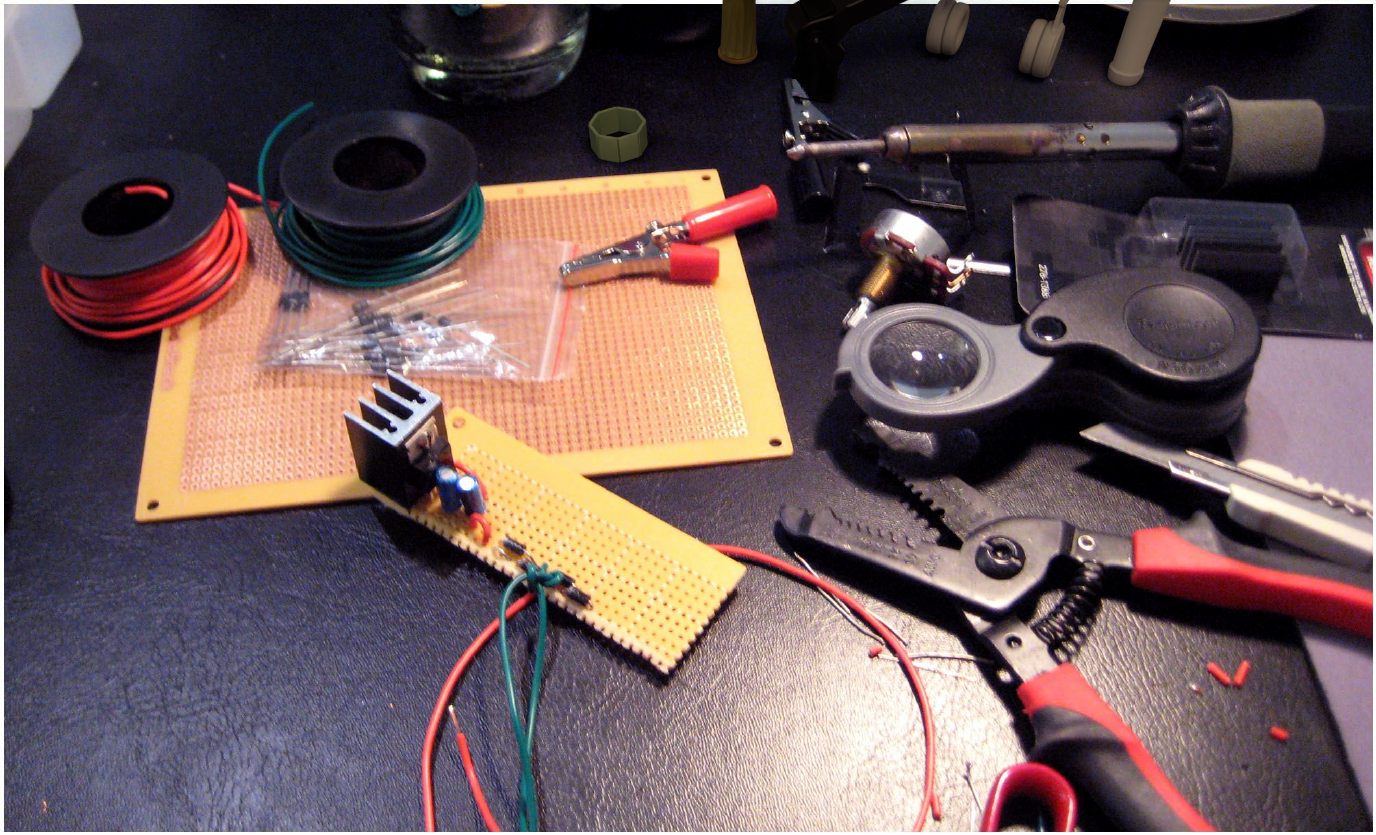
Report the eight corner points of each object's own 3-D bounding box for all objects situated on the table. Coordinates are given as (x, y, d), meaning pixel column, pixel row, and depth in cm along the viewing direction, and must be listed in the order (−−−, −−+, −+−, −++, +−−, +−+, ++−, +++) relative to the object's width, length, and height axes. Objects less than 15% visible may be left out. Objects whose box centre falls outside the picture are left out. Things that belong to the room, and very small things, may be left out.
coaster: (762, 46, 156) (762, 43, 155) (751, 66, 152) (751, 63, 152) (724, 41, 157) (724, 37, 157) (713, 61, 154) (713, 57, 153)
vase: (728, 63, 152) (728, -24, 141) (714, 45, 155) (714, -41, 144) (762, 55, 153) (765, -31, 142) (748, 38, 157) (750, -48, 146)
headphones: (920, 59, 151) (946, -68, 137) (935, 40, 156) (962, -84, 142) (1042, 88, 144) (1083, -42, 131) (1054, 67, 150) (1094, -60, 136)
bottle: (1136, 69, 148) (1199, -96, 129) (1143, 87, 145) (1208, -80, 126) (1103, 68, 149) (1160, -96, 129) (1109, 86, 146) (1168, -80, 126)
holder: (653, 135, 141) (652, 112, 138) (634, 165, 136) (632, 142, 133) (604, 126, 142) (602, 103, 139) (584, 156, 138) (581, 133, 135)
